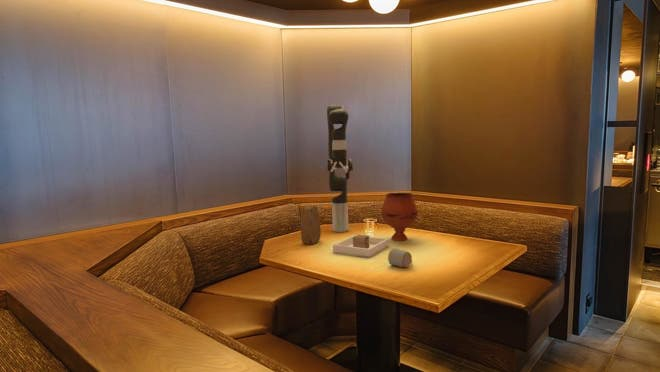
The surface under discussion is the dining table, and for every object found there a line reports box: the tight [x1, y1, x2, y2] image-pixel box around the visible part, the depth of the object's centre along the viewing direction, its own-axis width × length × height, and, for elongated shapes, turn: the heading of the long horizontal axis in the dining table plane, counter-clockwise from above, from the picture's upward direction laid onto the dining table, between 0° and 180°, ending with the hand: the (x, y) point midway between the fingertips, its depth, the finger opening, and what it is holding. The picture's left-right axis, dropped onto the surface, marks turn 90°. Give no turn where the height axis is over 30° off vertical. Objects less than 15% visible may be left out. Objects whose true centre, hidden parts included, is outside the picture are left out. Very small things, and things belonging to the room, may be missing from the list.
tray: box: [332, 234, 390, 259], centre depth 213 cm, size 22×20×4 cm
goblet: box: [381, 192, 418, 241], centre depth 231 cm, size 19×19×25 cm
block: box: [300, 205, 322, 245], centre depth 230 cm, size 11×8×20 cm
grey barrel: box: [387, 247, 413, 268], centre depth 186 cm, size 11×8×8 cm
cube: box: [353, 234, 370, 249], centre depth 213 cm, size 6×6×6 cm
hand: (340, 179), depth 227 cm, fingers open, 8 cm apart
